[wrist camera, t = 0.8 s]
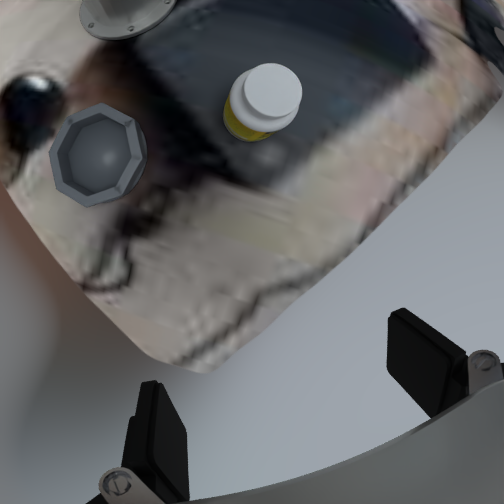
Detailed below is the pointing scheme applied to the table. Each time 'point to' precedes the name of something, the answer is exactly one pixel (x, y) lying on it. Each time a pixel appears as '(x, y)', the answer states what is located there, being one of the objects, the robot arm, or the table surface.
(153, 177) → the table surface
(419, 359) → the robot arm
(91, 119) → the socket cup
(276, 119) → the pill bottle
